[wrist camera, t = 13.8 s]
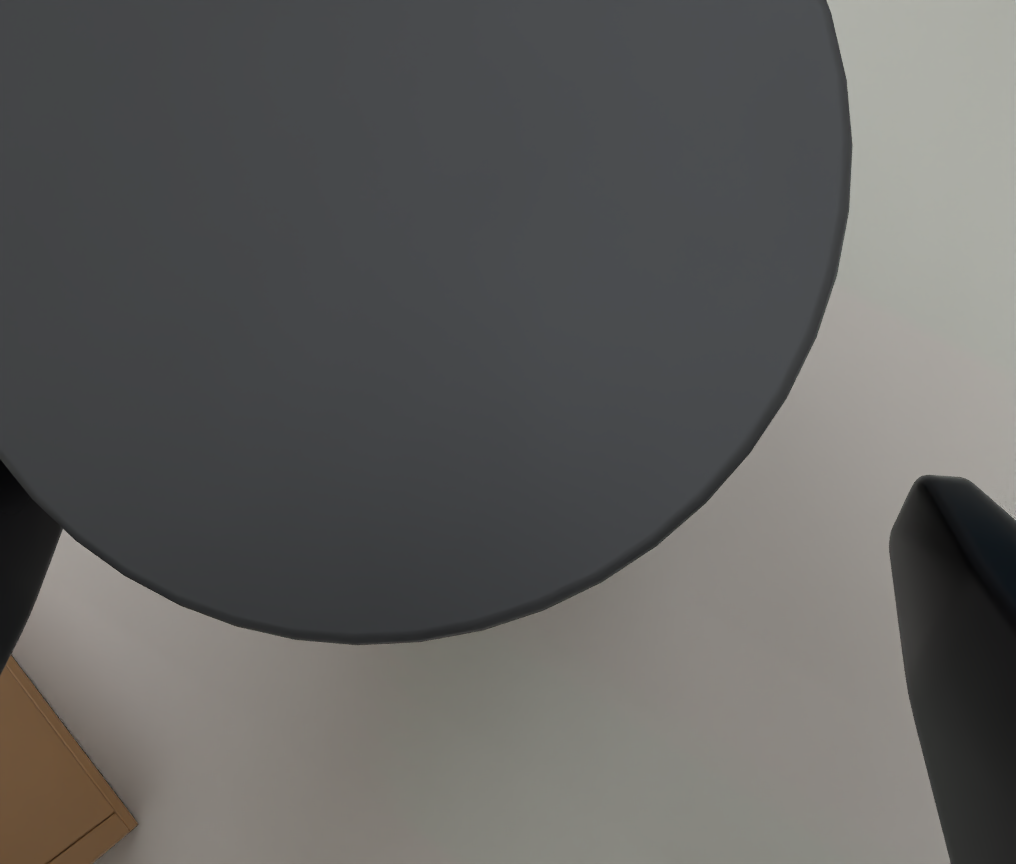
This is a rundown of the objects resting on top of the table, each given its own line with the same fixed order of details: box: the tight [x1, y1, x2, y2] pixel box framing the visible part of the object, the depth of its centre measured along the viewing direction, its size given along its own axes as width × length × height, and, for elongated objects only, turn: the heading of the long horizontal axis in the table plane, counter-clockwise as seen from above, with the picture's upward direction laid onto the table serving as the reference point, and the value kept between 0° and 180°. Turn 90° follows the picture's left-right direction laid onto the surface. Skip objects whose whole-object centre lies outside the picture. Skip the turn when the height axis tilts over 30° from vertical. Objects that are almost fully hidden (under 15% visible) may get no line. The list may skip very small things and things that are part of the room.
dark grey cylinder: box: [0, 0, 852, 645], centre depth 10 cm, size 5×5×12 cm
